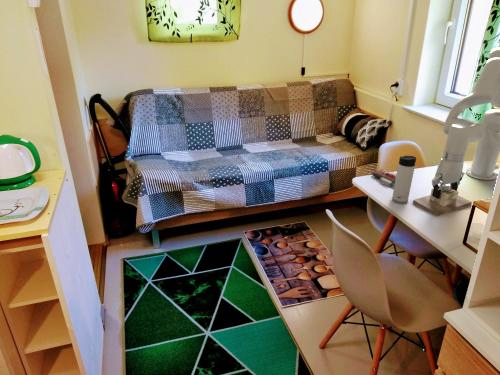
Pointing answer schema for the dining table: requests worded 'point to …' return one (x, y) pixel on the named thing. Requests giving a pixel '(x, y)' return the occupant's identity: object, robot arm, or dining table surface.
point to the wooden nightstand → (445, 197)
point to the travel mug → (403, 179)
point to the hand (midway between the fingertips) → (444, 194)
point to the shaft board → (439, 209)
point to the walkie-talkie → (385, 177)
